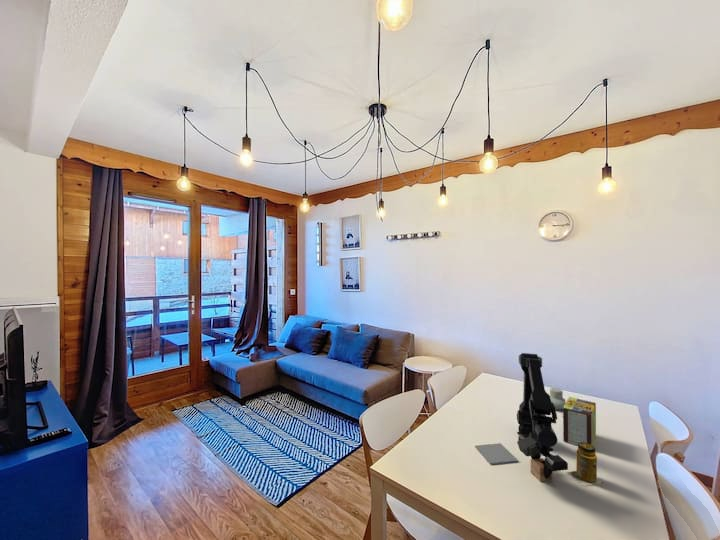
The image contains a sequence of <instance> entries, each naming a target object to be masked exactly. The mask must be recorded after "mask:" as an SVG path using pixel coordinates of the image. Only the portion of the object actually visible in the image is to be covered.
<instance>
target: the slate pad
mask: <svg viewBox="0 0 720 540" xmlns="http://www.w3.org/2000/svg"><path fill="white" fill-rule="evenodd" d="M474 448H475V449H476V450H477V451H478V452H479V454H480V455H481V456H482V457H483V458H484V459H485V461H486V462H487V463H488V464H489V465H491V466H492V465H500V464H501V465H502V464H509V463H510V464H511V463H512V464H513V463H519V459H517V457H515V456H514V455H513V454H512V453H511V452H510V450H508V449H507V448H506V447H505V446H504V445H503V444H502V443H501V442H500V443H499V442H498V443H491V444H489V443H488V444H479V445H474Z"/></svg>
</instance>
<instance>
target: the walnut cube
mask: <svg viewBox="0 0 720 540" xmlns="http://www.w3.org/2000/svg"><path fill="white" fill-rule="evenodd" d="M540 461H545V458H542V457H541V458H540V459H530V473H531V475H533V476H534V478H536V479H537V480H538V482H539V483H541V482H542V483H543V482H550V481H553V472H554V471H553V472H552V474H551V475H550V477H549V478H548V479H546V478H545V475H544V465H543V464H542V463H541V462H540Z"/></svg>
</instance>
